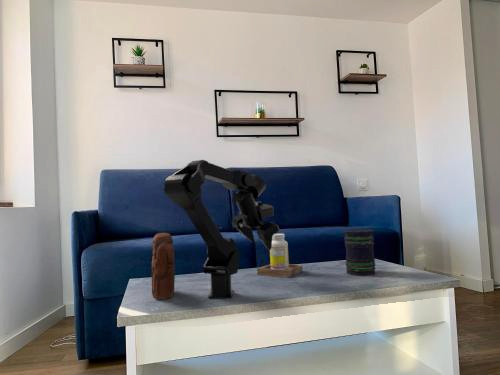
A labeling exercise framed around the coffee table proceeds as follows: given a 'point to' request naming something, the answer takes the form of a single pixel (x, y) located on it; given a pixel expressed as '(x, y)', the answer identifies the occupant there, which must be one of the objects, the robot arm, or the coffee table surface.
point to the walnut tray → (279, 271)
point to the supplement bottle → (279, 253)
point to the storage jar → (359, 252)
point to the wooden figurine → (163, 266)
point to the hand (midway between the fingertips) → (261, 245)
